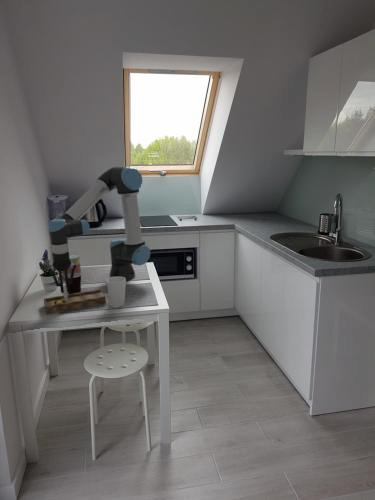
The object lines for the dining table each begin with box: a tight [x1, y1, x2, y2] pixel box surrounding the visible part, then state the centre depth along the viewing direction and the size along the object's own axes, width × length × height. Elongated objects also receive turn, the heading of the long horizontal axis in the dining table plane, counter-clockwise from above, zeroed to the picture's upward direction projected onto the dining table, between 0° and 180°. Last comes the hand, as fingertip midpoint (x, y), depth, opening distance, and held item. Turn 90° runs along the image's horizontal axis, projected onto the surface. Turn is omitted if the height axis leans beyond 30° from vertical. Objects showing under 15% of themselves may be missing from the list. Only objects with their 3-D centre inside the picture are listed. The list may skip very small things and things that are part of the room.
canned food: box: [62, 253, 82, 279], centre depth 236 cm, size 11×11×12 cm
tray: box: [43, 288, 107, 315], centre depth 192 cm, size 28×12×4 cm, turn 114°
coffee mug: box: [64, 273, 82, 295], centre depth 208 cm, size 12×9×10 cm
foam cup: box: [105, 276, 127, 308], centre depth 189 cm, size 10×9×13 cm
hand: (66, 298), depth 190 cm, fingers closed
